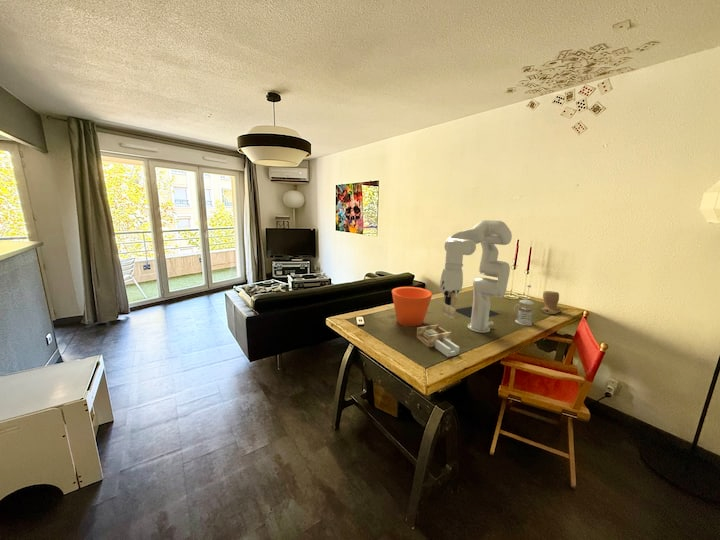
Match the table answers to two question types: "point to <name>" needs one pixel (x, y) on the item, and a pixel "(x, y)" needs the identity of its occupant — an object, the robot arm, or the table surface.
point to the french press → (527, 310)
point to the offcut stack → (428, 333)
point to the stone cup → (550, 302)
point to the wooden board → (450, 306)
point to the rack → (432, 338)
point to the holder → (447, 347)
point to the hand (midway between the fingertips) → (449, 303)
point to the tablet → (468, 312)
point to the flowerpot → (411, 305)
